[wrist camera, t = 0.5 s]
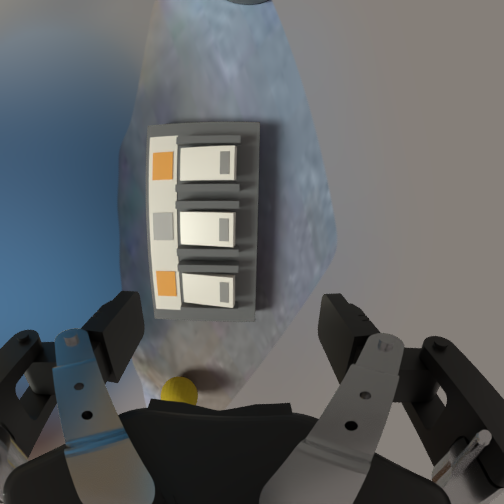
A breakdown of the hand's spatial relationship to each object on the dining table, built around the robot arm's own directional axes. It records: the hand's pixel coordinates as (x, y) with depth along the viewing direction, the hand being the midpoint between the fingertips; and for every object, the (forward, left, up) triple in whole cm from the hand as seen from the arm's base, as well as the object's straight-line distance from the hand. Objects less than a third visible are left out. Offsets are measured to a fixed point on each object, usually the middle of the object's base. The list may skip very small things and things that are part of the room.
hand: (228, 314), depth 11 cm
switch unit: (-1, -4, -23) cm, 24 cm away
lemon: (+24, -9, -23) cm, 35 cm away
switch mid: (-1, -3, -19) cm, 19 cm away
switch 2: (+6, -3, -19) cm, 20 cm away
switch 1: (-8, -3, -19) cm, 20 cm away
